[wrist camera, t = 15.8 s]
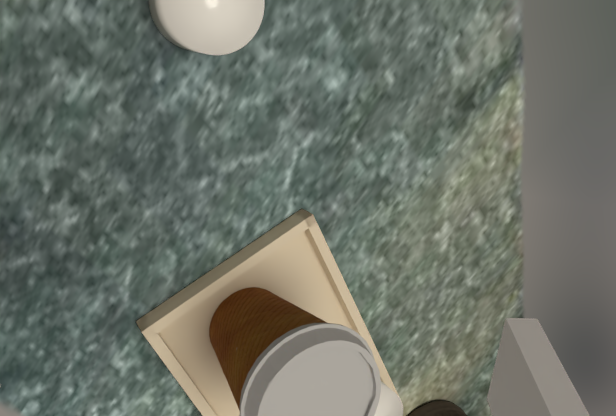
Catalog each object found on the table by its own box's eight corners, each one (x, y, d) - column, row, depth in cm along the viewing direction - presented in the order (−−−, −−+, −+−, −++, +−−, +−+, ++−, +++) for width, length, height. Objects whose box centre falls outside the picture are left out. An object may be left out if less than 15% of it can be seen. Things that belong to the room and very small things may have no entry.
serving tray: (301, 208, 44) (312, 214, 42) (389, 390, 54) (401, 400, 52) (135, 321, 40) (141, 332, 38) (264, 497, 49) (272, 511, 48)
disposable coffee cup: (237, 402, 45) (307, 504, 34) (161, 331, 40) (215, 424, 30) (321, 318, 47) (410, 391, 36) (257, 242, 42) (339, 301, 32)
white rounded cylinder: (356, 348, 50) (389, 376, 45) (378, 392, 52) (411, 422, 48) (303, 390, 48) (333, 423, 44) (328, 434, 50) (359, 468, 46)
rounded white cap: (129, -21, 34) (140, -28, 30) (213, -64, 35) (235, -76, 31) (179, 67, 37) (195, 73, 32) (255, 25, 38) (280, 25, 34)
